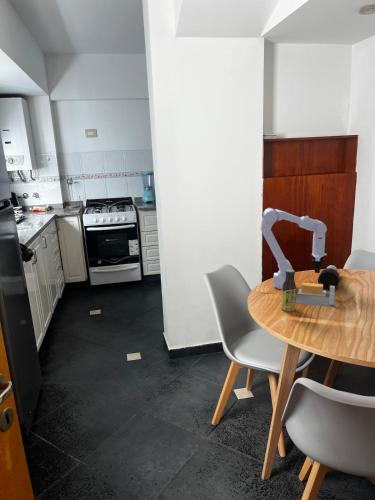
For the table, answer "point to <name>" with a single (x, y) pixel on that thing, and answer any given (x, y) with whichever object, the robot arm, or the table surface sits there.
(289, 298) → the sauce bottle
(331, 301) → the clasp
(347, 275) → the table surface
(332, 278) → the black and grey cylinder
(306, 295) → the board
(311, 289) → the block
